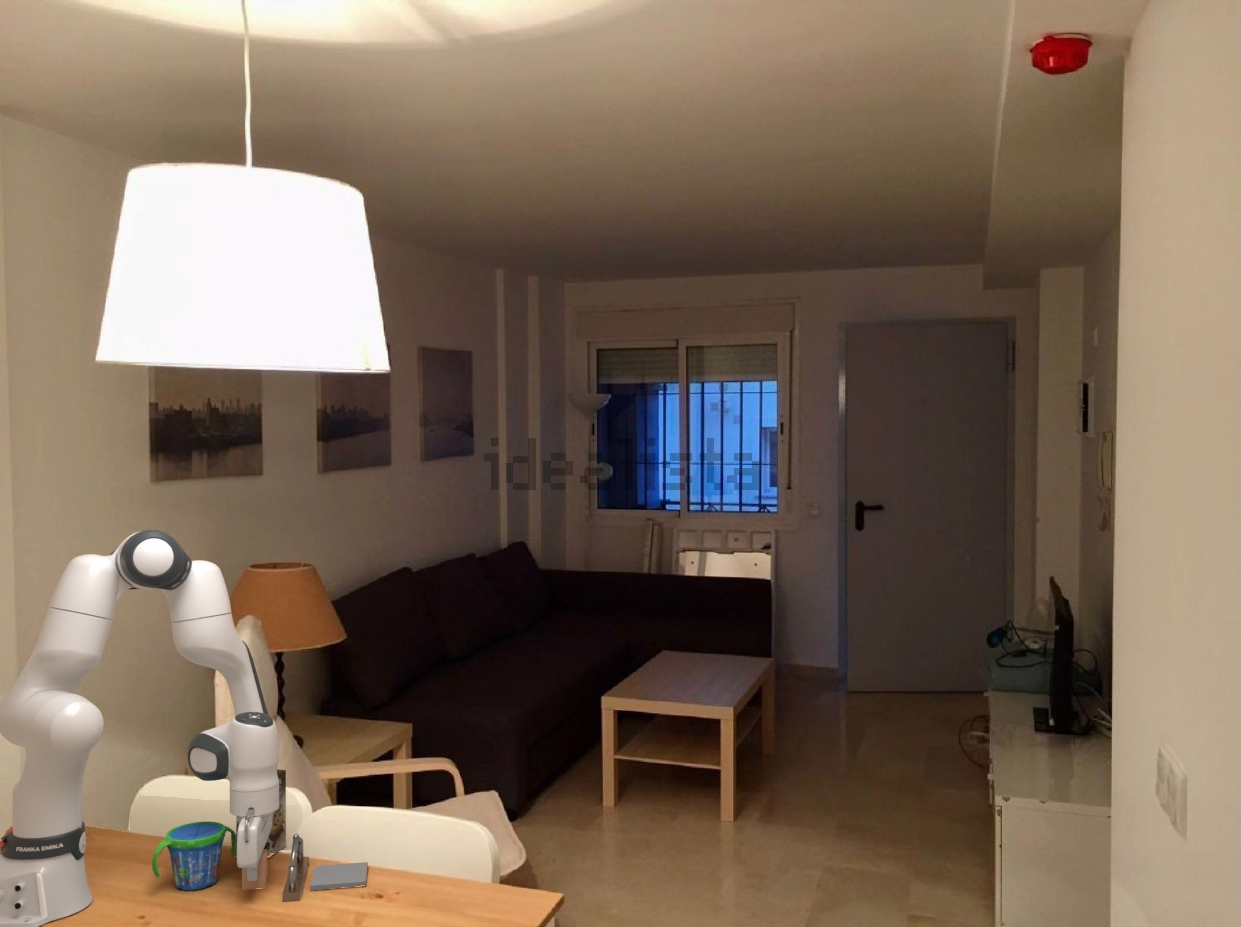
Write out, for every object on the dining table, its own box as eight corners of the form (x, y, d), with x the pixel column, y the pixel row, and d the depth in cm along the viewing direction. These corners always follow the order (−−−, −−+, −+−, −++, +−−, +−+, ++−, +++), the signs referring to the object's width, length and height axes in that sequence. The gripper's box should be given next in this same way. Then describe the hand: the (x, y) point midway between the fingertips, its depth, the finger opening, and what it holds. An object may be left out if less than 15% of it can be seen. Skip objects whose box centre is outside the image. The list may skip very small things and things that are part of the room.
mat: (310, 891, 199) (310, 885, 199) (315, 871, 208) (315, 866, 208) (365, 887, 201) (365, 881, 201) (367, 867, 210) (367, 862, 210)
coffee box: (264, 863, 213) (264, 782, 213) (235, 860, 214) (234, 780, 214) (287, 847, 222) (287, 769, 222) (259, 845, 223) (258, 767, 223)
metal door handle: (282, 902, 194) (282, 851, 194) (293, 865, 212) (293, 819, 212) (299, 900, 194) (299, 850, 194) (309, 864, 212) (308, 818, 212)
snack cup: (159, 903, 194) (159, 847, 194) (145, 885, 202) (145, 831, 202) (246, 883, 203) (246, 829, 203) (230, 866, 211) (230, 814, 211)
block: (242, 890, 199) (242, 858, 199) (245, 882, 203) (245, 850, 203) (264, 888, 200) (264, 856, 200) (267, 880, 204) (267, 849, 204)
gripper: (264, 817, 192) (264, 894, 192) (278, 784, 212) (278, 853, 212) (227, 819, 191) (227, 897, 191) (245, 786, 211) (245, 856, 211)
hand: (254, 874), depth 202 cm, fingers closed on block, 4 cm apart
